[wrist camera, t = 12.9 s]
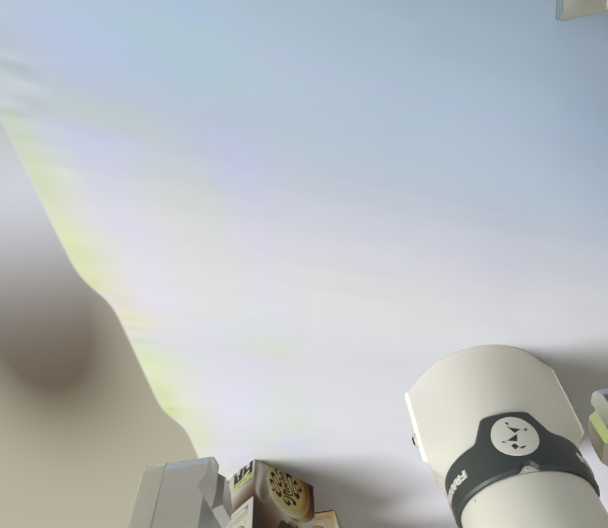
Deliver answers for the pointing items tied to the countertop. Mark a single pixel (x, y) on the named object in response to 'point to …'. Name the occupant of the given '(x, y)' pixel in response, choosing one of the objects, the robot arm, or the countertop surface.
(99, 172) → the countertop surface
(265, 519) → the coffee box
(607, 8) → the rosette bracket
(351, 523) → the countertop surface
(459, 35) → the countertop surface
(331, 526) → the coffeecake box
